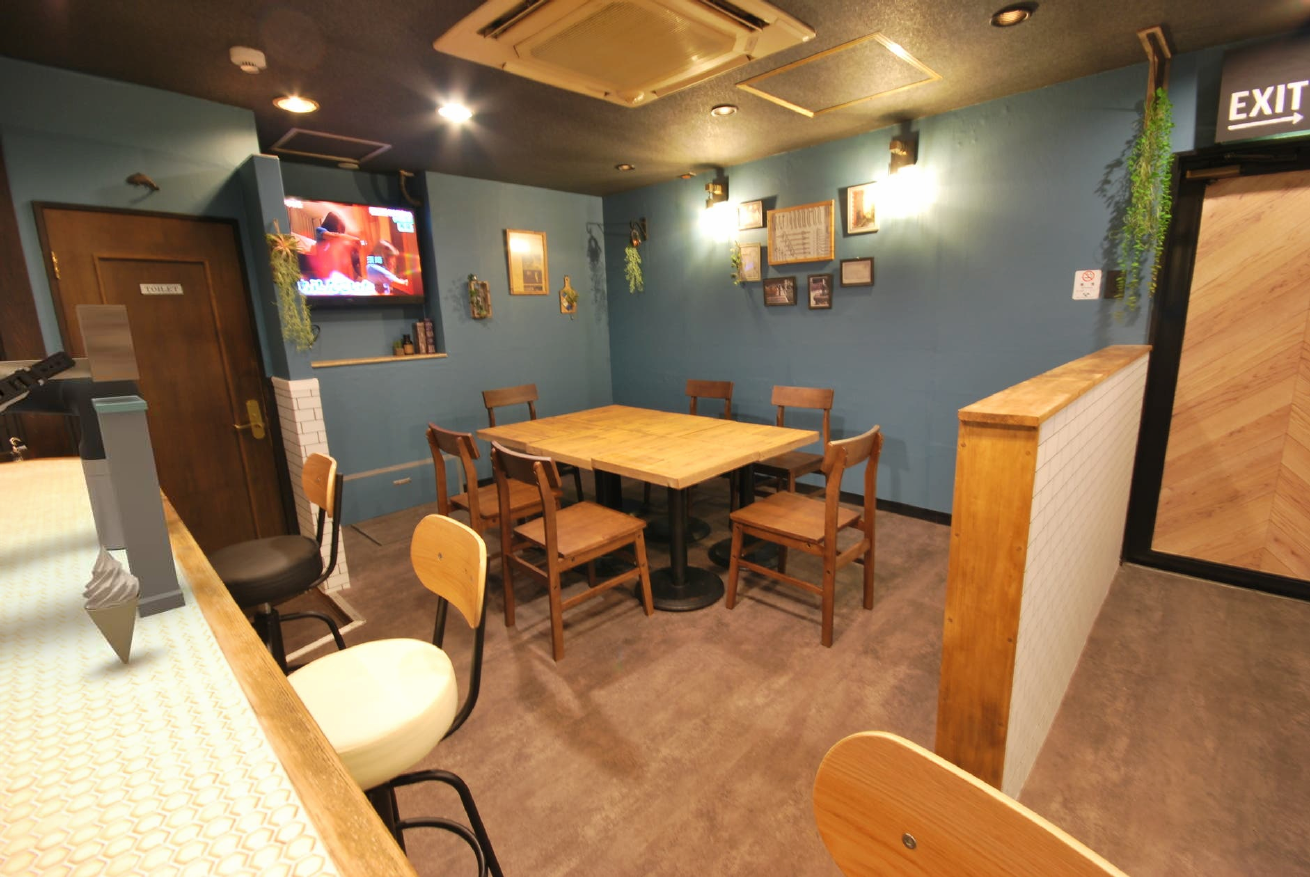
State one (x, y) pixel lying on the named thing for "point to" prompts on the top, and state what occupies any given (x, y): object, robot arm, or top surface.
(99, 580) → the ice cream cone
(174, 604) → the stand
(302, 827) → the top surface
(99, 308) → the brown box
